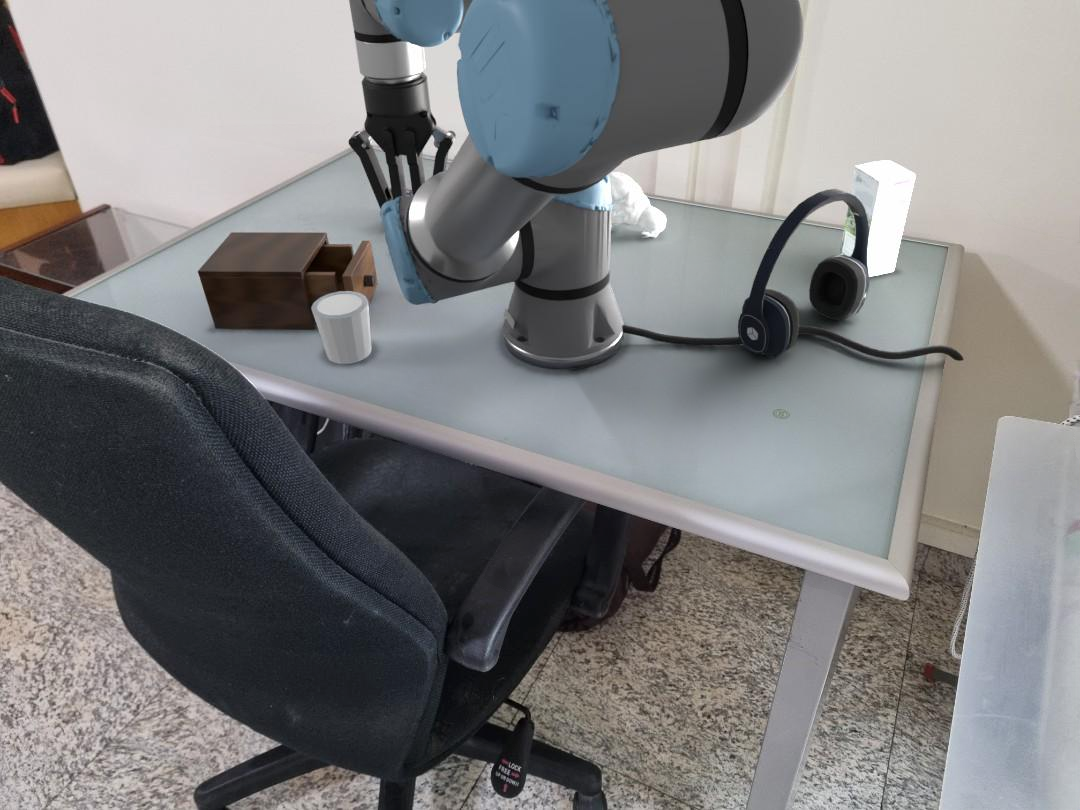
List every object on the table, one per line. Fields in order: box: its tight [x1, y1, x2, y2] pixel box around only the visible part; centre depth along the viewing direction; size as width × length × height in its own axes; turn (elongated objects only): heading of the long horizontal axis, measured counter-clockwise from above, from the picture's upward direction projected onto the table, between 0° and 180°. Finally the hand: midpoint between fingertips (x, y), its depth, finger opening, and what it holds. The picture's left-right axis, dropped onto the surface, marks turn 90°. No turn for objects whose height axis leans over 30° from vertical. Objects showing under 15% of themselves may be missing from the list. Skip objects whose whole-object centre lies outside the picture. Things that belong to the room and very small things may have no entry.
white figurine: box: [608, 171, 667, 239], centre depth 130 cm, size 6×8×12 cm
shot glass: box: [311, 291, 373, 365], centre depth 104 cm, size 7×7×7 cm
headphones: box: [737, 188, 870, 358], centre depth 101 cm, size 20×7×18 cm, turn 127°
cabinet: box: [197, 231, 330, 331], centre depth 114 cm, size 14×12×9 cm
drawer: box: [304, 240, 379, 317], centre depth 113 cm, size 14×10×7 cm
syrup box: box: [838, 159, 916, 278], centre depth 116 cm, size 6×6×14 cm
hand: (418, 259), depth 110 cm, fingers closed
